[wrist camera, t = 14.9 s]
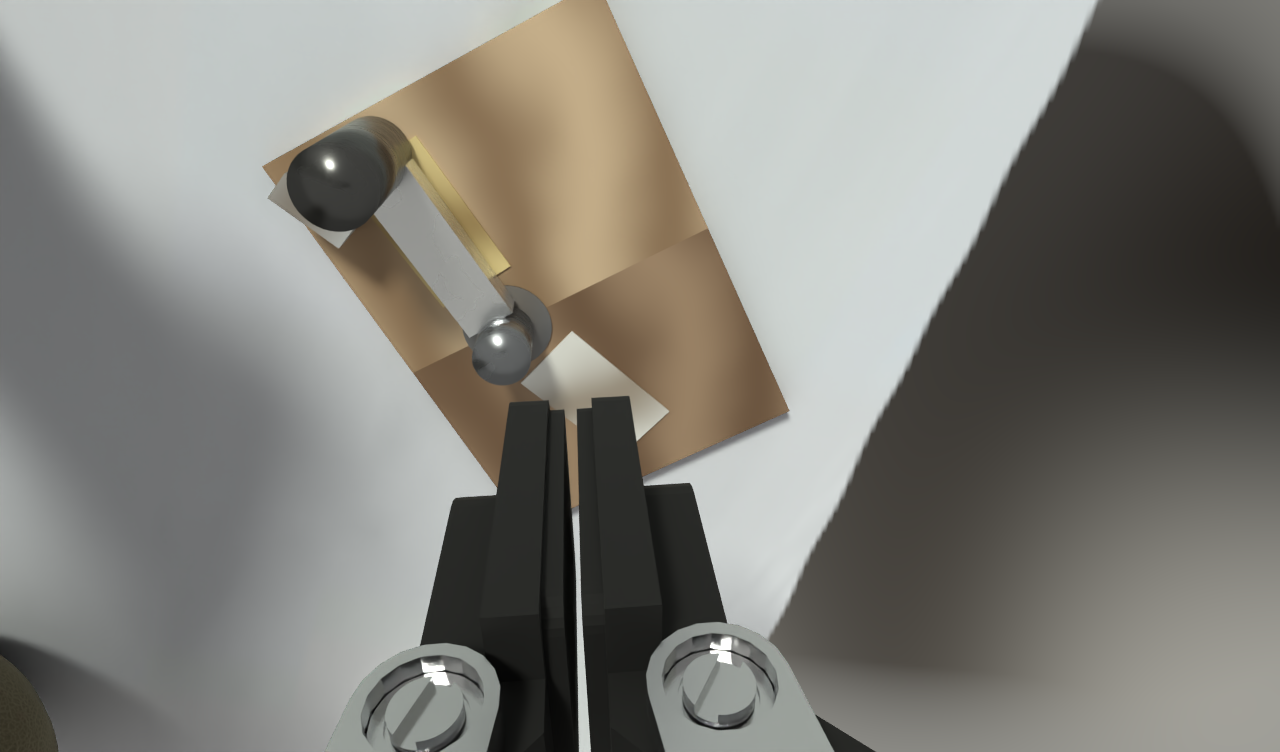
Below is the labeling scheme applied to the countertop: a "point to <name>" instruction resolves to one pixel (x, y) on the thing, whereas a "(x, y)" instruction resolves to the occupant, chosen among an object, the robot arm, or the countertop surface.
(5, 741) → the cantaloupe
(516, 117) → the plate
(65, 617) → the countertop surface
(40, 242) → the countertop surface
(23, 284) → the countertop surface
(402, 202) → the swing bar
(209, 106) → the countertop surface
